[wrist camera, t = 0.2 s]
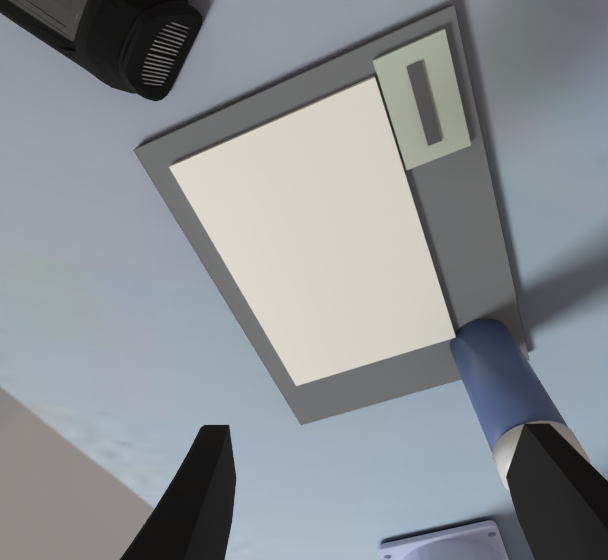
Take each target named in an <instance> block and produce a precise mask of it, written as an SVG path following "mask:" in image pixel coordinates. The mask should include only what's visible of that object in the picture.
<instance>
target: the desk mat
mask: <svg viewBox="0 0 608 560" xmlns="http://www.w3.org/2000/svg"><path fill="white" fill-rule="evenodd" d="M440 29H445V31H446V36H447V40H448V45H449V49H450V53H451V58H452V62H453V67H454V71H455V76H456V80H457V84H458V89H459V93H460V98H461V102H462V107H463V111H464V115H465V120H466V124H467V129H468V133H469V138H470V142H471V146H468V147H466V148H463V149H461V150H458V151H455V152H453V153H450V154H448V155H445V156H443V157H440V158H437V159H435V160H432V161H430V162H427V163H424V164H422V165H419V166H417V167H414V168H412V169H409V170H406V168H405V165H404V162H403V158H402V155H401V152H400V149H399V145H398V142H397V139H396V136H395V132H394V129H393V126H392V123H391V119H390V116H389V113H388V110H387V106H386V103H385V100H384V97H383V93H382V90H381V87H380V84H379V80H378V77H377V74H376V71H375V67H374V64H373V61H372V60H373V59H375V58H377V57H380V56H382V55H384V54H386V53H389V52H391V51H393V50H395V49H398V48H400V47H402V46H404V45H407V44H409V43H411V42H413V41H416V40H418V39H420V38H422V37H425V36H427V35H429V34H431V33H434V32H436V31H438V30H440ZM373 76H374V77H375V79H376V82H377V85H378V88H379V92H380V95H381V98H382V101H383V104H384V108H385V111H386V114H387V117H388V120H389V124H390V127H391V130H392V133H393V137H394V140H395V143H396V146H397V149H398V153H399V156H400V159H401V162H402V166H403V169H404V172H405V175H406V178H407V182H408V185H409V188H410V191H411V195H412V198H413V201H414V204H415V207H416V211H417V214H418V217H419V220H420V224H421V227H422V230H423V233H424V236H425V240H426V243H427V246H428V249H429V252H430V256H431V259H432V262H433V265H434V269H435V272H436V275H437V278H438V281H439V285H440V288H441V291H442V294H443V298H444V301H445V304H446V307H447V310H448V314H449V317H450V320H451V323H452V327H453V330H454V333H455V332H456V331H457V330H458V329H459V328H460V327H462V326H463V325H465V324H466V323H468V322H471V321H473V320H477V319H494V320H497V321H500V322H501V323H503V324H504V325H505V326H506V327H507V328H508V330H509V331H510V333H511V335H512V336H513V338H514V339H515V341H516V343H517V344H518V346H519V348H520V349H521V351H522V353H523V354H524V356H525V357H526V359H527V360H529V356H528V351H527V346H526V341H525V337H524V332H523V327H522V322H521V318H520V313H519V308H518V304H517V299H516V294H515V289H514V285H513V280H512V275H511V270H510V266H509V261H508V256H507V252H506V247H505V242H504V237H503V233H502V228H501V223H500V219H499V214H498V209H497V204H496V200H495V195H494V190H493V185H492V181H491V176H490V171H489V167H488V162H487V157H486V152H485V148H484V143H483V138H482V133H481V129H480V124H479V119H478V115H477V110H476V105H475V100H474V96H473V91H472V86H471V82H470V77H469V72H468V67H467V63H466V58H465V53H464V48H463V44H462V39H461V34H460V30H459V25H458V20H457V15H456V11H455V6H454V5H450V6H447V7H445V8H443V9H441V10H439V11H436V12H434V13H432V14H430V15H428V16H425V17H423V18H421V19H419V20H416V21H414V22H412V23H410V24H408V25H405V26H403V27H401V28H399V29H397V30H394V31H392V32H390V33H388V34H386V35H383V36H381V37H379V38H377V39H375V40H372V41H370V42H368V43H366V44H364V45H361V46H359V47H357V48H355V49H353V50H350V51H348V52H346V53H344V54H341V55H339V56H337V57H335V58H333V59H330V60H328V61H326V62H324V63H322V64H319V65H317V66H315V67H313V68H311V69H308V70H306V71H304V72H302V73H300V74H297V75H295V76H293V77H291V78H289V79H286V80H284V81H282V82H280V83H278V84H275V85H273V86H271V87H269V88H266V89H264V90H262V91H260V92H258V93H255V94H253V95H251V96H249V97H247V98H244V99H242V100H240V101H238V102H236V103H233V104H231V105H229V106H227V107H225V108H222V109H220V110H218V111H216V112H214V113H211V114H209V115H207V116H205V117H202V118H200V119H198V120H196V121H194V122H191V123H189V124H187V125H185V126H183V127H180V128H178V129H176V130H174V131H172V132H169V133H167V134H165V135H163V136H161V137H158V138H156V139H154V140H152V141H150V142H147V143H145V144H143V145H141V146H139V147H137V148H135V149H134V150H133V151H134V152H135V154H136V155H137V157H138V159H139V160H140V162H141V164H142V165H143V167H144V169H145V170H146V172H147V173H148V175H149V177H150V178H151V180H152V182H153V183H154V185H155V187H156V188H157V190H158V192H159V193H160V195H161V196H162V198H163V200H164V201H165V203H166V205H167V206H168V208H169V210H170V211H171V213H172V214H173V216H174V218H175V219H176V221H177V223H178V224H179V226H180V228H181V229H182V231H183V232H184V234H185V236H186V237H187V239H188V241H189V242H190V244H191V246H192V247H193V249H194V250H195V252H196V254H197V255H198V257H199V259H200V260H201V262H202V264H203V265H204V267H205V269H206V270H207V272H208V273H209V275H210V277H211V278H212V280H213V282H214V283H215V285H216V287H217V288H218V290H219V291H220V293H221V295H222V296H223V298H224V300H225V301H226V303H227V305H228V306H229V308H230V309H231V311H232V313H233V314H234V316H235V318H236V319H237V321H238V323H239V324H240V326H241V328H242V329H243V331H244V332H245V334H246V336H247V337H248V339H249V341H250V342H251V344H252V346H253V347H254V349H255V350H256V352H257V354H258V355H259V357H260V359H261V360H262V362H263V364H264V365H265V367H266V368H267V370H268V372H269V373H270V375H271V377H272V378H273V380H274V382H275V383H276V385H277V387H278V388H279V390H280V391H281V393H282V395H283V396H284V398H285V400H286V401H287V403H288V405H289V406H290V408H291V409H292V411H293V413H294V414H295V416H296V418H297V419H298V421H299V423H300V424H301V425H303V424H307V423H310V422H314V421H317V420H321V419H324V418H328V417H331V416H335V415H338V414H342V413H345V412H349V411H352V410H356V409H359V408H363V407H366V406H370V405H373V404H377V403H380V402H384V401H387V400H391V399H394V398H398V397H401V396H405V395H408V394H412V393H415V392H419V391H422V390H426V389H429V388H433V387H436V386H440V385H443V384H447V383H450V382H454V381H457V380H461V379H462V378H461V375H460V373H459V370H458V368H457V366H456V363H455V361H454V358H453V356H452V353H451V351H450V341H451V339H449V340H446V341H443V342H439V343H436V344H433V345H430V346H426V347H423V348H420V349H416V350H413V351H410V352H407V353H403V354H400V355H397V356H394V357H390V358H387V359H384V360H380V361H377V362H374V363H371V364H367V365H364V366H361V367H357V368H354V369H351V370H348V371H344V372H341V373H338V374H335V375H331V376H328V377H325V378H321V379H318V380H315V381H312V382H308V383H305V384H302V385H299V386H296V385H295V383H294V382H293V380H292V378H291V376H290V375H289V373H288V371H287V370H286V368H285V366H284V364H283V363H282V361H281V359H280V357H279V356H278V354H277V352H276V351H275V349H274V347H273V345H272V344H271V342H270V340H269V339H268V337H267V335H266V333H265V332H264V330H263V328H262V326H261V325H260V323H259V321H258V320H257V318H256V316H255V314H254V313H253V311H252V309H251V308H250V306H249V304H248V302H247V301H246V299H245V297H244V296H243V294H242V292H241V290H240V289H239V287H238V285H237V283H236V282H235V280H234V278H233V277H232V275H231V273H230V271H229V270H228V268H227V266H226V265H225V263H224V261H223V259H222V258H221V256H220V254H219V252H218V251H217V249H216V247H215V246H214V244H213V242H212V240H211V239H210V237H209V235H208V234H207V232H206V230H205V228H204V227H203V225H202V223H201V222H200V220H199V218H198V216H197V215H196V213H195V211H194V209H193V208H192V206H191V204H190V203H189V201H188V199H187V197H186V196H185V194H184V192H183V191H182V189H181V187H180V185H179V184H178V182H177V180H176V178H175V177H174V175H173V173H172V172H171V170H170V168H169V166H170V165H171V164H174V163H176V162H178V161H180V160H183V159H185V158H187V157H190V156H192V155H194V154H196V153H199V152H201V151H203V150H206V149H208V148H210V147H213V146H215V145H217V144H219V143H222V142H224V141H226V140H229V139H231V138H233V137H235V136H238V135H240V134H242V133H245V132H247V131H249V130H251V129H254V128H256V127H258V126H261V125H263V124H265V123H267V122H270V121H272V120H274V119H277V118H279V117H281V116H283V115H286V114H288V113H290V112H293V111H295V110H297V109H300V108H302V107H304V106H306V105H309V104H311V103H313V102H316V101H318V100H320V99H322V98H325V97H327V96H329V95H332V94H334V93H336V92H338V91H341V90H343V89H345V88H348V87H350V86H352V85H354V84H357V83H359V82H361V81H364V80H366V79H368V78H371V77H373Z"/></svg>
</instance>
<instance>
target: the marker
mask: <svg viewBox="0 0 608 560" xmlns="http://www.w3.org/2000/svg"><path fill="white" fill-rule="evenodd" d="M455 336H456V338H452V339H451V341H450V351H451V353H452V356H453V358H454V361H455V363H456V366H457V368H458V370H459V373H460V375H461V378H462V380H463V383H464V385H465V388H466V390H467V392H468V395H469V397H470V400H471V402H472V405H473V407H474V409H475V412H476V414H477V417H478V419H479V422H480V424H481V426H482V429H483V431H484V434H485V436H486V439H487V441H488V444H489V446H490V448H491V451H492V453H493V454H492V455H493V459H494V462H495V464H496V467H497V469H498V472H499V474H500V477H501V479H502V481H503V484H504V486H505V487H506V489H507V490H508V491H510V490H509V486H508V483H507V479H506V475H507V472H508V469H509V466H510V464H511V461H512V458H513V455H514V452H515V449H516V446H517V443H518V440H519V437H520V434H521V431H522V428H523V425H524V424H534V423H549V424H550V425H551V426H552V427H553V428H555V429H556V430H557V431H558V432H559V433H560V434H561V435H562V436H563V437H564V438H565V439H566V440H567V441H568V442H569V443H570V444H571V445H572V446H573V447H574V448H575V449H576V450H577V451H578V452H579V453H580V454H581V455H582V456H583V457H584V458H585V459H586V460H587V461H588V462H589V463H590V460H589V458H588V456H587V454H586V453H585V451H584V449H583V448H582V446H581V445H580V443H579V441H578V440H577V438H576V436H575V435H574V433H573V432H572V430H571V429H570V428H568V426H567V425H566V423H565V421H564V420H563V418H562V416H561V415H560V413H559V411H558V410H557V408H556V407H555V405H554V403H553V402H552V400H551V398H550V397H549V395H548V393H547V392H546V390H545V389H544V387H543V385H542V384H541V382H540V380H539V379H538V377H537V375H536V374H535V372H534V371H533V369H532V367H531V366H530V364H529V362H528V361H527V359H526V357H525V356H524V354H523V353H522V351H521V349H520V348H519V346H518V344H517V343H516V341H515V339H514V338H513V336H512V335H511V333H510V331H509V330H508V328H507V327H506V326H505V325H504V324H503V323H501V322H500V321H497V320H494V319H477V320H473V321H471V322H468V323H466V324H465V325H463V326H462V327H460V328H459V329H458V330H457V331H456V332H455Z"/></svg>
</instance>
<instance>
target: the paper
mask: <svg viewBox="0 0 608 560" xmlns="http://www.w3.org/2000/svg"><path fill="white" fill-rule="evenodd" d="M169 168H170V170H171V172H172V173H173V175H174V177H175V178H176V180H177V182H178V184H179V185H180V187H181V189H182V191H183V192H184V194H185V196H186V197H187V199H188V201H189V203H190V204H191V206H192V208H193V209H194V211H195V213H196V215H197V216H198V218H199V220H200V222H201V223H202V225H203V227H204V228H205V230H206V232H207V234H208V235H209V237H210V239H211V240H212V242H213V244H214V246H215V247H216V249H217V251H218V252H219V254H220V256H221V258H222V259H223V261H224V263H225V265H226V266H227V268H228V270H229V271H230V273H231V275H232V277H233V278H234V280H235V282H236V283H237V285H238V287H239V289H240V290H241V292H242V294H243V296H244V297H245V299H246V301H247V302H248V304H249V306H250V308H251V309H252V311H253V313H254V314H255V316H256V318H257V320H258V321H259V323H260V325H261V326H262V328H263V330H264V332H265V333H266V335H267V337H268V339H269V340H270V342H271V344H272V345H273V347H274V349H275V351H276V352H277V354H278V356H279V357H280V359H281V361H282V363H283V364H284V366H285V368H286V370H287V371H288V373H289V375H290V376H291V378H292V380H293V382H294V383H295V385H296V386H299V385H302V384H305V383H308V382H312V381H315V380H318V379H321V378H325V377H328V376H331V375H335V374H338V373H341V372H344V371H348V370H351V369H354V368H357V367H361V366H364V365H367V364H371V363H374V362H377V361H380V360H384V359H387V358H390V357H394V356H397V355H400V354H403V353H407V352H410V351H413V350H416V349H420V348H423V347H426V346H430V345H433V344H436V343H439V342H443V341H446V340H449V339H452V338H456V336H455V333H454V330H453V327H452V323H451V320H450V317H449V314H448V310H447V307H446V304H445V301H444V298H443V294H442V291H441V288H440V285H439V281H438V278H437V275H436V272H435V269H434V265H433V262H432V259H431V256H430V252H429V249H428V246H427V243H426V240H425V236H424V233H423V230H422V227H421V224H420V220H419V217H418V214H417V211H416V207H415V204H414V201H413V198H412V195H411V191H410V188H409V185H408V182H407V178H406V175H405V172H404V169H403V166H402V162H401V159H400V156H399V153H398V149H397V146H396V143H395V140H394V137H393V133H392V130H391V127H390V124H389V120H388V117H387V114H386V111H385V108H384V104H383V101H382V98H381V95H380V92H379V88H378V85H377V82H376V79H375V77H374V76H373V77H371V78H368V79H366V80H364V81H361V82H359V83H357V84H354V85H352V86H350V87H348V88H345V89H343V90H341V91H338V92H336V93H334V94H332V95H329V96H327V97H325V98H322V99H320V100H318V101H316V102H313V103H311V104H309V105H306V106H304V107H302V108H300V109H297V110H295V111H293V112H290V113H288V114H286V115H283V116H281V117H279V118H277V119H274V120H272V121H270V122H267V123H265V124H263V125H261V126H258V127H256V128H254V129H251V130H249V131H247V132H245V133H242V134H240V135H238V136H235V137H233V138H231V139H229V140H226V141H224V142H222V143H219V144H217V145H215V146H213V147H210V148H208V149H206V150H203V151H201V152H199V153H196V154H194V155H192V156H190V157H187V158H185V159H183V160H180V161H178V162H176V163H174V164H171V165H170V166H169Z"/></svg>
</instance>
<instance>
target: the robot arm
mask: <svg viewBox="0 0 608 560" xmlns="http://www.w3.org/2000/svg"><path fill="white" fill-rule="evenodd" d="M506 479H507V483H508V486H509V490H510V493H511V497H512V500H513V504H514V507H515V510H516V513H517V517H518V520H519V522H520V525H521V527H522V530H523V532H524V534H525V537H526V539H527V542H528V544H529V546H530V549H531V551H532V553H533V556H534V558H535V560H608V481H607V480H606V479H605V478H604V477H603V476H602V475H601V474H600V473H599V472H598V471H597V470H596V469H595V468H594V467H593V466H592V465H591V464H590V463H589V462H588V461H587V460H586V459H585V458H584V457H583V456H582V455H581V454H580V453H579V452H578V451H577V450H576V449H575V448H574V447H573V446H572V445H571V444H570V443H569V442H568V441H567V440H566V439H565V438H564V437H563V436H562V435H561V434H560V433H559V432H558V431H557V430H556V429H555V428H553V427H552V426H551V425H550V424H549V423H534V424H524V425H523V428H522V431H521V434H520V437H519V440H518V443H517V446H516V449H515V452H514V455H513V458H512V461H511V464H510V466H509V469H508V472H507V475H506ZM235 486H236V473H235V465H234V458H233V451H232V443H231V436H230V429H229V425H204V426H203V427H201V428H200V430H199V432H198V434H197V436H196V438H195V440H194V442H193V444H192V446H191V448H190V450H189V452H188V454H187V456H186V457H185V459H184V461H183V463H182V465H181V466H180V468H179V470H178V472H177V473H176V475H175V477H174V479H173V480H172V482H171V483H170V485H169V487H168V488H167V490H166V492H165V493H164V495H163V496H162V498H161V500H160V501H159V503H158V505H157V506H156V508H155V509H154V511H153V512H152V514H151V515H150V517H149V518H148V520H147V521H146V523H145V525H144V526H143V527H142V529H141V530H140V532H139V533H138V534H137V536H136V537H135V539H134V540H133V542H132V543H131V545H130V546H129V548H128V549H127V550H126V552H125V553H124V555H123V556H122V557H121V559H120V560H224V559H225V554H226V549H227V544H228V539H229V534H230V529H231V524H232V516H233V506H234V496H235ZM378 554H379V555H380V557H381V559H382V560H509V559H508V556H507V553H506V550H505V547H504V544H503V541H502V538H501V535H500V532H499V530H498V527H497V524H496V522H494V521H491V520H488V521H483V522H479V523H474V524H470V525H465V526H461V527H456V528H452V529H447V530H442V531H438V532H433V533H429V534H424V535H420V536H415V537H411V538H406V539H402V540H397V541H393V542H388V543H384V544H381V545H379V546H378Z"/></svg>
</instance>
